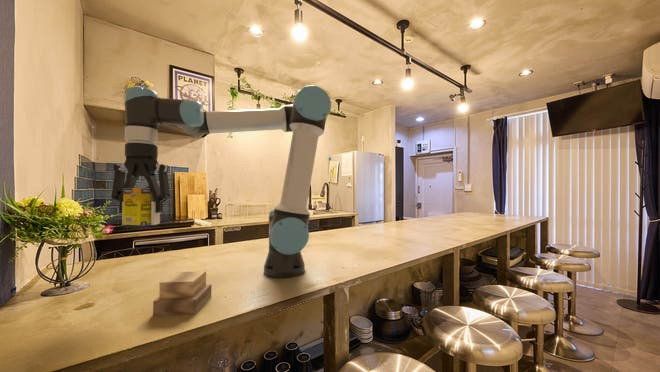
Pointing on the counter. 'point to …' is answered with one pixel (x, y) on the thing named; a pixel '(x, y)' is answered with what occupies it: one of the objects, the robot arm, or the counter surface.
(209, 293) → the walnut base block
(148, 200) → the supplement box
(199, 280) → the oak block
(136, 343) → the counter surface
